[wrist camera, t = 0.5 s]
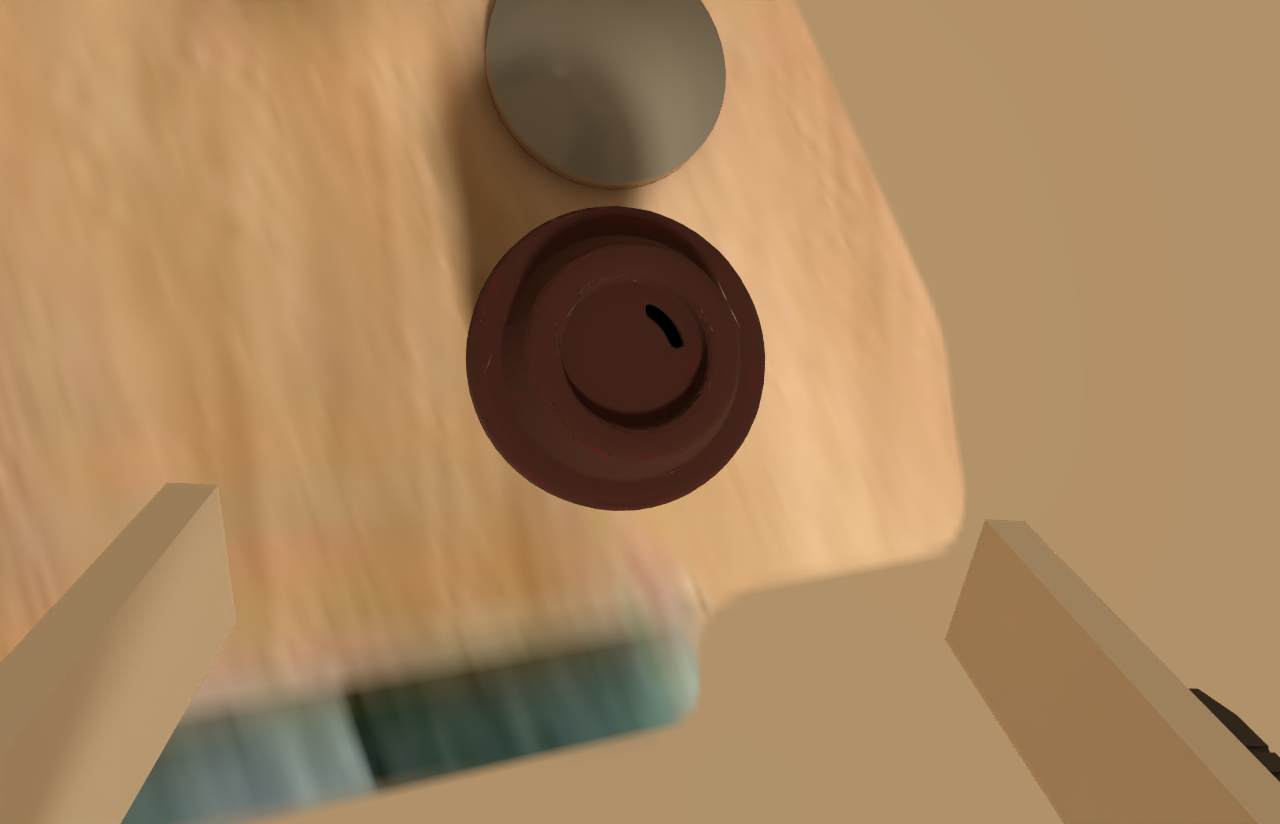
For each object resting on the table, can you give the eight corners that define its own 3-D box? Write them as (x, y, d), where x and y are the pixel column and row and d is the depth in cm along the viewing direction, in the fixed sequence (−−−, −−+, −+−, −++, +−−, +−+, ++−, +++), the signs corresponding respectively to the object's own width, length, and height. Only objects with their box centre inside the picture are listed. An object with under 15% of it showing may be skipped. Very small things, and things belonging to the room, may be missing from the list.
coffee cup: (467, 504, 37) (492, 538, 22) (442, 295, 37) (451, 195, 22) (667, 476, 39) (806, 490, 25) (643, 281, 40) (767, 183, 25)
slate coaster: (433, 32, 37) (433, 19, 36) (622, -87, 40) (627, -103, 39) (588, 235, 39) (593, 229, 38) (760, 107, 42) (770, 97, 41)
